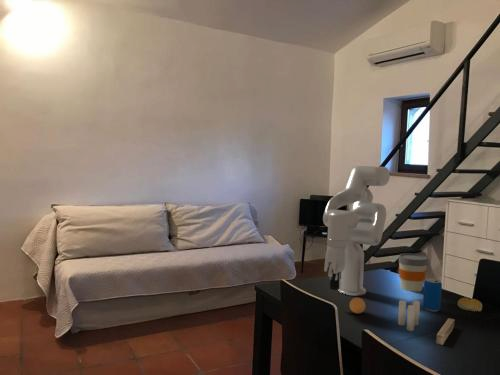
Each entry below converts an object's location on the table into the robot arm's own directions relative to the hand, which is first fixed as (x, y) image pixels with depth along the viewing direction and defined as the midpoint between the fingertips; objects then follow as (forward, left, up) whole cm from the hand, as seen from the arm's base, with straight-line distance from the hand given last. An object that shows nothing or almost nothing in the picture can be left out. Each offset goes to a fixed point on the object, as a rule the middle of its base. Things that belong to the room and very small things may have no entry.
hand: (334, 289), depth 172 cm
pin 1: (+30, -2, -8) cm, 31 cm away
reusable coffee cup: (+17, +46, -8) cm, 50 cm away
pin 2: (+30, +4, -8) cm, 32 cm away
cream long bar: (+41, +1, -8) cm, 42 cm away
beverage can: (+31, +24, -8) cm, 40 cm away
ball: (+9, +1, -5) cm, 11 cm away
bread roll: (+44, +36, -8) cm, 57 cm away
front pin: (+26, +1, -8) cm, 28 cm away
